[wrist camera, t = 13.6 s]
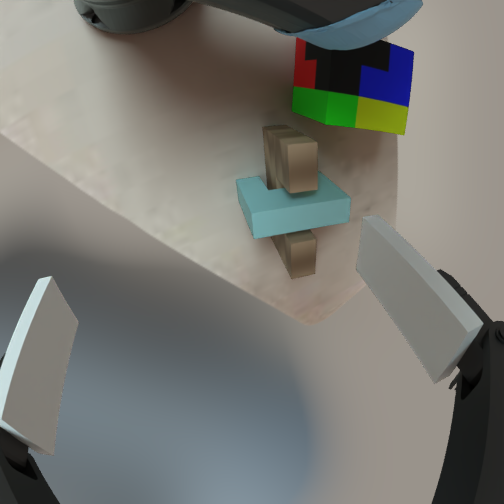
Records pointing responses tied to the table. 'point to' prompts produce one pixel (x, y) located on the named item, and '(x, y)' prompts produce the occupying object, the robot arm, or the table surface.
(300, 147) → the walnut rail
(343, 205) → the notched teal block
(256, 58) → the table surface
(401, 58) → the puzzle toy
